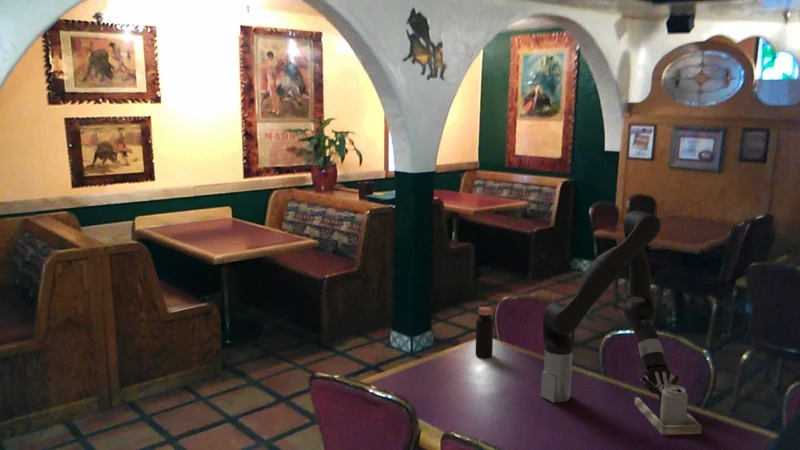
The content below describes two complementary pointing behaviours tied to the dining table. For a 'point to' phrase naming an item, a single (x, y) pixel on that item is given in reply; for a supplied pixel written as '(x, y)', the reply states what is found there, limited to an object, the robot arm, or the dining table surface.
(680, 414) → the can
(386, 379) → the dining table surface
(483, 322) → the bottle
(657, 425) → the wooden frame
